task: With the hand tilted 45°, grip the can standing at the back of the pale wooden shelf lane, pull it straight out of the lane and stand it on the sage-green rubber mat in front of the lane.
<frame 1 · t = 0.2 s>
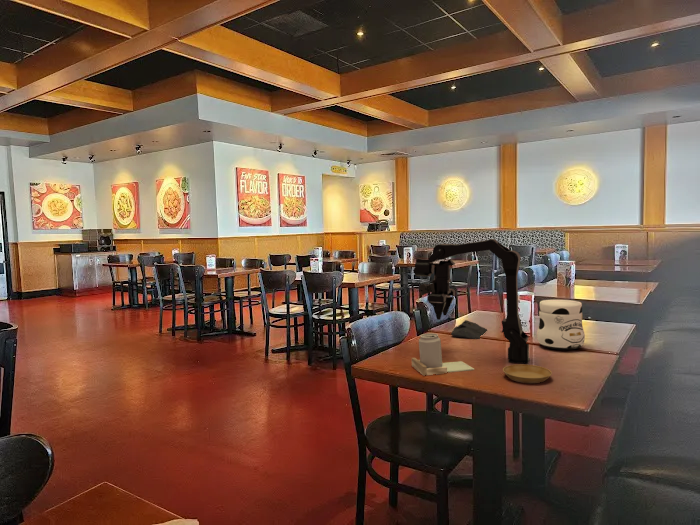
hand: (441, 317, 186), 14 cm above the table, tool pointing down, fingers open, 9 cm apart
can: (431, 369, 168), on the table, touching mat
dark slate chunk: (467, 335, 222), on the table
plant saucer: (527, 379, 156), on the table
mat: (454, 367, 170), on the table
shelf lane: (431, 369, 168), on the table
milk container: (560, 347, 192), on the table
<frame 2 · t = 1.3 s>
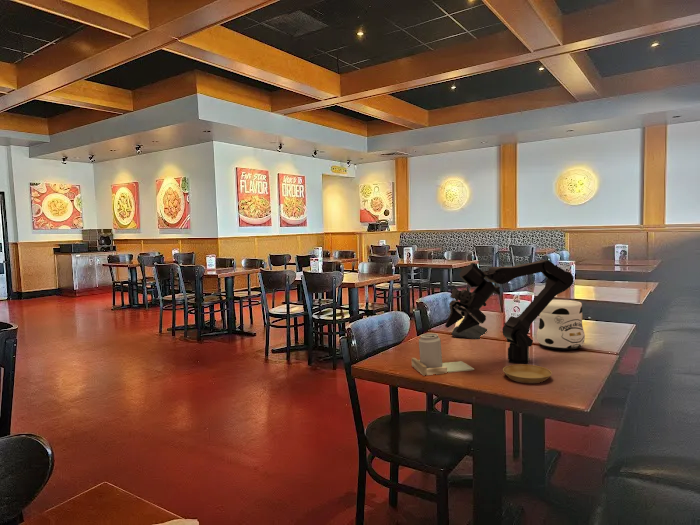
hand: (451, 329, 169), 13 cm above the table, tool tilted 45°, fingers open, 9 cm apart
nothing on the table moved.
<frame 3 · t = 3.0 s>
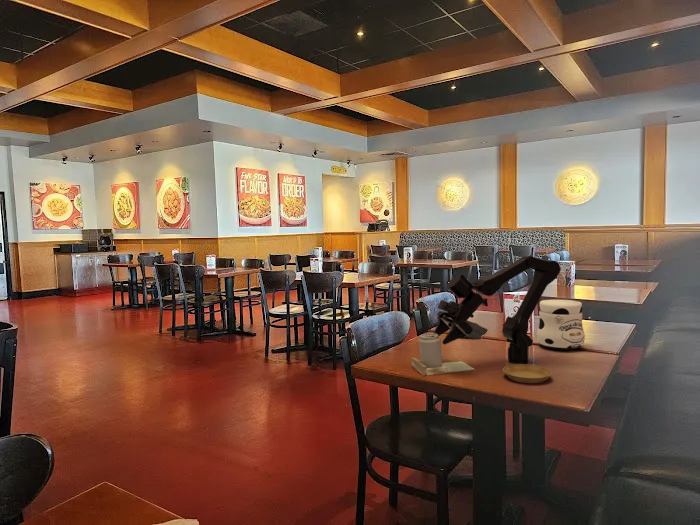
hand: (438, 340, 168), 10 cm above the table, tool tilted 45°, fingers open, 9 cm apart
nothing on the table moved.
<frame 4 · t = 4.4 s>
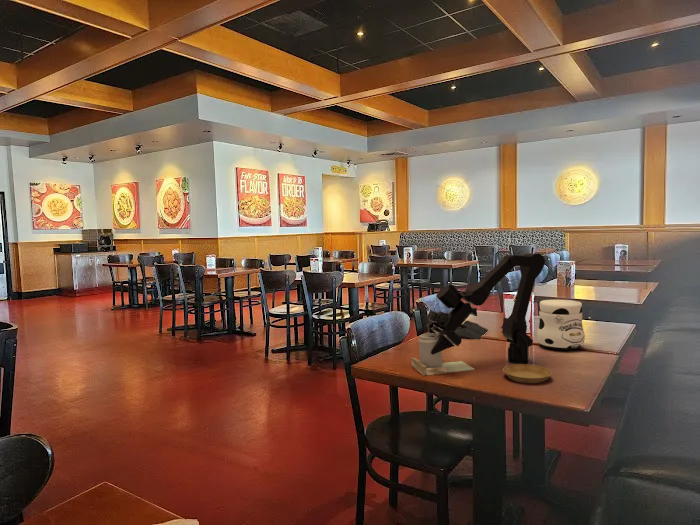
hand: (427, 350, 167), 7 cm above the table, tool tilted 45°, fingers closed on can, 7 cm apart
can: (431, 369, 168), on the table, touching gripper, mat
everything else where it was.
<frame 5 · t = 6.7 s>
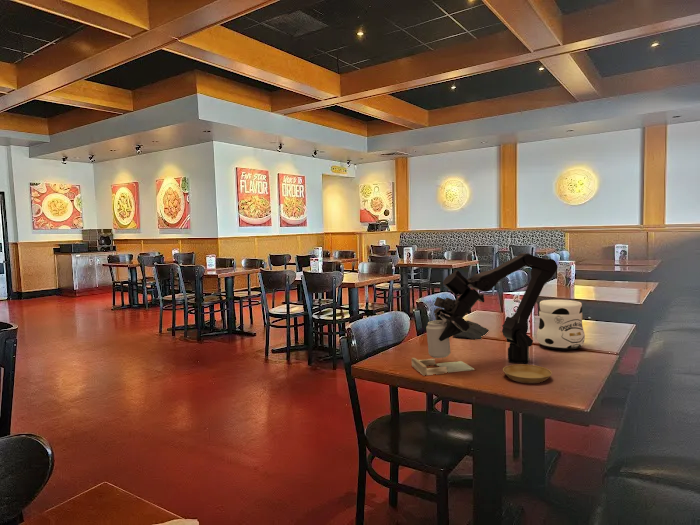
hand: (435, 337, 168), 11 cm above the table, tool tilted 45°, fingers closed on can, 7 cm apart
can: (439, 356, 168), point 4 cm above the table, touching gripper
everything else where it was.
when the fingers open (8 cm above the table, at t = 9.0 s): can drops 1 cm, resting on mat.
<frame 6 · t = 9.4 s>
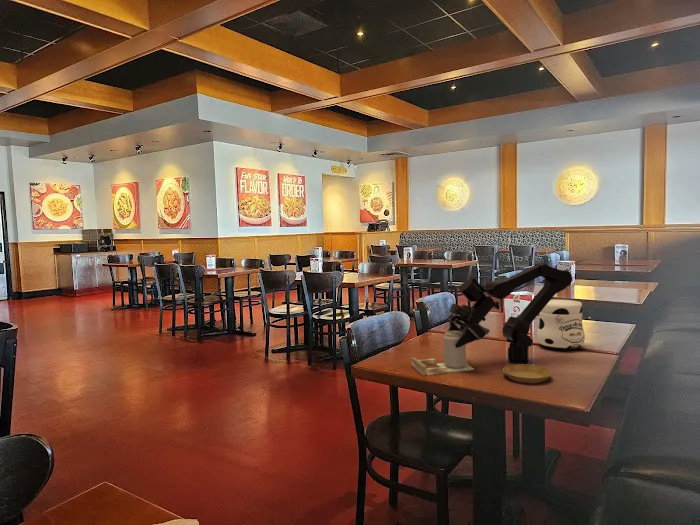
hand: (450, 344, 169), 8 cm above the table, tool tilted 45°, fingers open, 9 cm apart
can: (455, 366, 170), resting on mat
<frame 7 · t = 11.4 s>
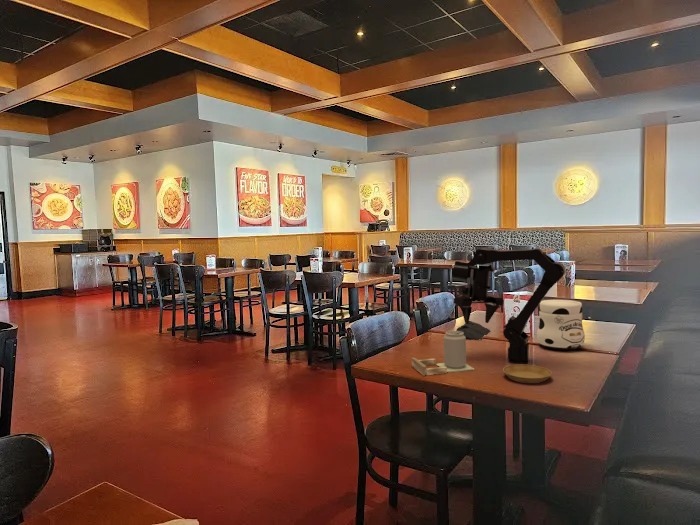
hand: (476, 323, 181), 13 cm above the table, tool pointing down, fingers open, 9 cm apart
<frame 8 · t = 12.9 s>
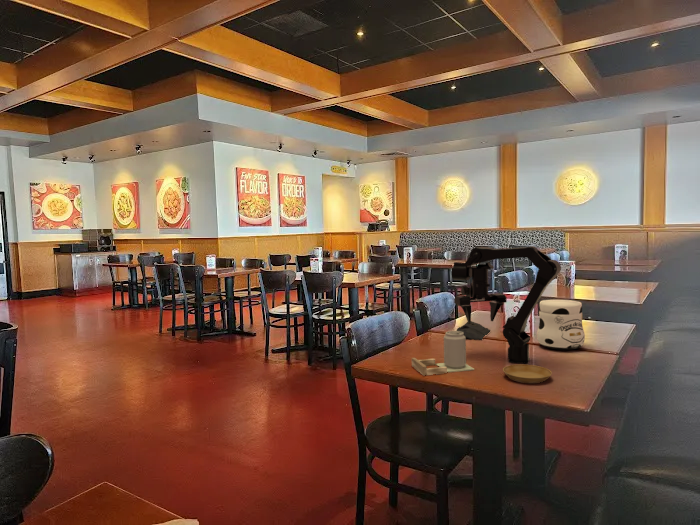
hand: (480, 322, 182), 13 cm above the table, tool pointing down, fingers open, 9 cm apart
at the end: can 0.2 cm off-centre on the mat, point 0.2 cm above the mat's base; can tilted 0°; the gripper is holding nothing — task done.
